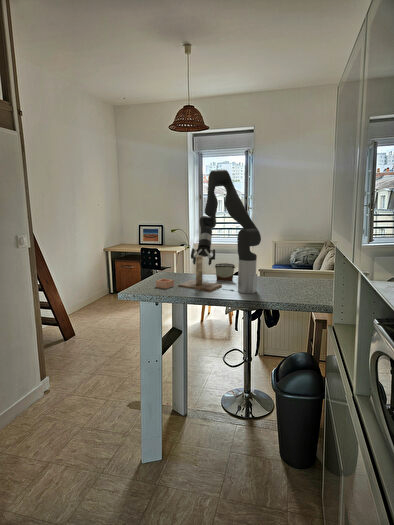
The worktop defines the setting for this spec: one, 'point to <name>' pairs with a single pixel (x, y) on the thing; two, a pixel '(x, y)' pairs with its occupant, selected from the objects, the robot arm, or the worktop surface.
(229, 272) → the food container
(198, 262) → the birch dowel
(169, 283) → the terracotta cup
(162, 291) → the worktop surface
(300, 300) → the worktop surface
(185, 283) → the walnut board
